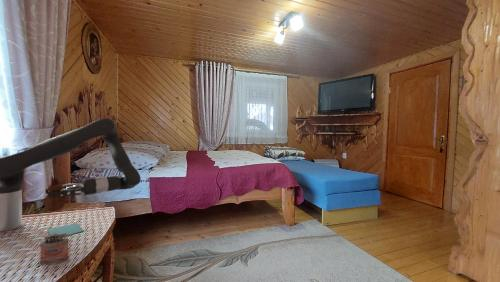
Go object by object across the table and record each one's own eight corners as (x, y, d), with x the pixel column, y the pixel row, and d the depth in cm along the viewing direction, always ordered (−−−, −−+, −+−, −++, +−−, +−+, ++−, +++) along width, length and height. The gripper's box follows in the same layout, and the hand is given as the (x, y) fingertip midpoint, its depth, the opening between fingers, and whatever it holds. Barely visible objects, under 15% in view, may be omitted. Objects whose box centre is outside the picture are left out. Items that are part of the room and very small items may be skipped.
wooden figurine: (52, 213, 91) (51, 177, 90) (41, 211, 92) (40, 176, 91) (68, 208, 97) (68, 174, 96) (58, 206, 99) (58, 173, 98)
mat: (47, 230, 102) (47, 229, 102) (76, 223, 110) (76, 222, 110) (52, 239, 94) (52, 238, 94) (83, 231, 103) (83, 230, 103)
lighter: (38, 266, 77) (38, 238, 77) (42, 260, 80) (42, 233, 80) (66, 261, 81) (67, 235, 80) (69, 256, 84) (70, 230, 83)
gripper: (90, 175, 109) (43, 180, 96) (100, 181, 100) (49, 187, 87) (90, 190, 110) (43, 197, 97) (99, 197, 101) (49, 206, 88)
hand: (47, 192), depth 92 cm, fingers closed on wooden figurine, 4 cm apart
